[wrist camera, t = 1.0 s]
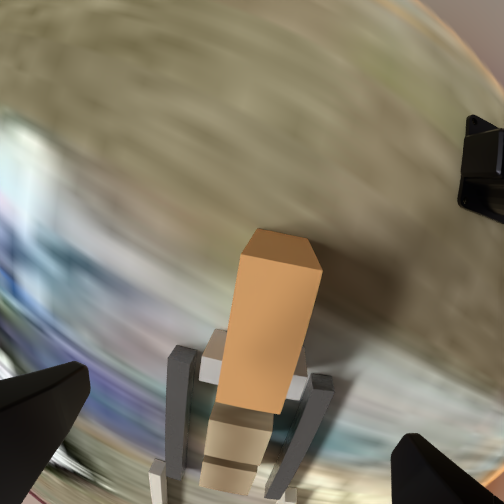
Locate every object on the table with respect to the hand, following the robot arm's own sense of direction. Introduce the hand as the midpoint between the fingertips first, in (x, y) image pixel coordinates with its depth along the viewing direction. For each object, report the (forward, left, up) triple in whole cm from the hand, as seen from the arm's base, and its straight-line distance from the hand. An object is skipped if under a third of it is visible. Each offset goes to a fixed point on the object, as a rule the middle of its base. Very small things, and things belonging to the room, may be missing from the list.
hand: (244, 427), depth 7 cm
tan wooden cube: (0, +15, -12) cm, 19 cm away
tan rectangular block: (0, 0, -12) cm, 12 cm away
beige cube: (0, +10, -12) cm, 16 cm away
